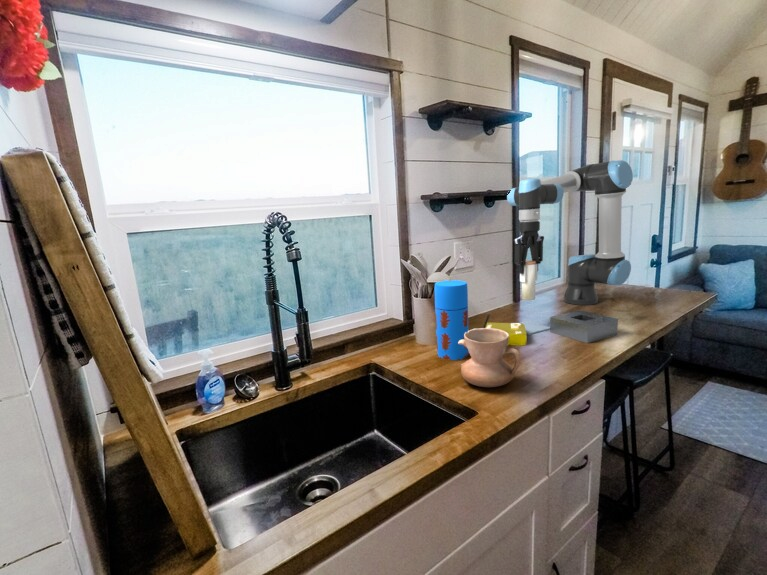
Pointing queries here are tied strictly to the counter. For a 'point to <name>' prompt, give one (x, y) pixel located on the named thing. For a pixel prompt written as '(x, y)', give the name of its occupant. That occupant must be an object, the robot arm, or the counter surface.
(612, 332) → the block
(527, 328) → the mat
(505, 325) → the element tile
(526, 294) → the white cylinder
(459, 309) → the thermos
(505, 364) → the ceramic jug
